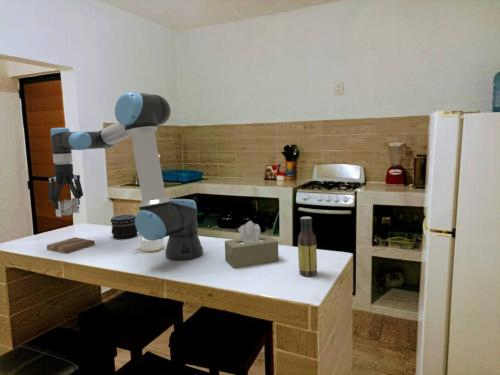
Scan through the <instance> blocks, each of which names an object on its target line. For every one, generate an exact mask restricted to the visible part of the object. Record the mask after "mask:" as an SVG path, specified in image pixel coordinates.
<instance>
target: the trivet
mask: <svg viewBox="0 0 500 375" xmlns="http://www.w3.org/2000/svg"><path fill="white" fill-rule="evenodd" d="M95 245H96V243H95V240H92V239H88V238H82V237H76V236H75V237H71V238H67V239H64V240H60V241H57V242H52V243H49V244H46V250H48V251H52V252H58V253H61V254H70V253H73V252H76V251H79V250H83V249H87V248H89V247H93V246H95Z"/></svg>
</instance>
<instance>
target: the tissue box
mask: <svg viewBox="0 0 500 375" xmlns="http://www.w3.org/2000/svg"><path fill="white" fill-rule="evenodd" d="M237 231H238V233H239V235H240V238H238V239H229V240H224V253H225V254H224V256H225V257H224V259H225V262H226V263H227V264H229V266H230V267H231V268H232V269H238V268H246V267H250V266H258V265H264V264H271V263H275V262H276V263H277V262H279V241H278V240H276V239H274V238H273V237H271V236H270V235H268V234H266V235H261V227H260V225H259V224H258V223H257V224H256V223H255V224H254V222H253V221H252V220H249V221H247V222H246V223H244V224H242V225H241V226H240V227H238V228H237Z"/></svg>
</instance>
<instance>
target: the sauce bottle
mask: <svg viewBox="0 0 500 375" xmlns="http://www.w3.org/2000/svg"><path fill="white" fill-rule="evenodd" d="M299 222H300V232H299V234H298V236H297V257H298V268H299V271H298V272H299V274H300V275H301V276H302V277H306V278H307V277H313V276H316V275H317V273H318V272H317V271H318V270H317V269H318V257H317V240H316V239H317V237H316V234H315V233H314V232H313V218H312V217H311V216H307V215H306V216H302V217H300V218H299Z"/></svg>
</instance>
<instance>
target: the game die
mask: <svg viewBox="0 0 500 375" xmlns="http://www.w3.org/2000/svg"><path fill="white" fill-rule="evenodd" d="M74 198H75V197H72V199H71V198H70V199H69V198H68V199H65V198H61V199H62V201H60V205H61V215H62V217H64V216H71V217H74V214H75V213H74V212H75V211H76V210H77V208H79V209H80V206H79V207H77V205H76V204H75V202H74V200H73V199H74Z"/></svg>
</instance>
